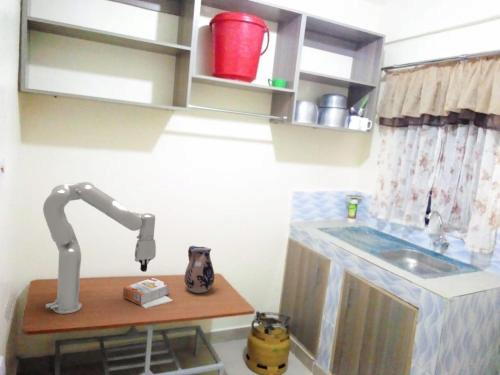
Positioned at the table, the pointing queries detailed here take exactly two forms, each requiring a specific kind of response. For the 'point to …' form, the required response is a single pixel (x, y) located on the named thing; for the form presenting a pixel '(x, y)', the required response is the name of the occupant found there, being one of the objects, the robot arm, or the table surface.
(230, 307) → the table surface
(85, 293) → the table surface
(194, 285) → the ceramic pitcher
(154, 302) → the mat
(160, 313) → the table surface
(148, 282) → the cracker box
